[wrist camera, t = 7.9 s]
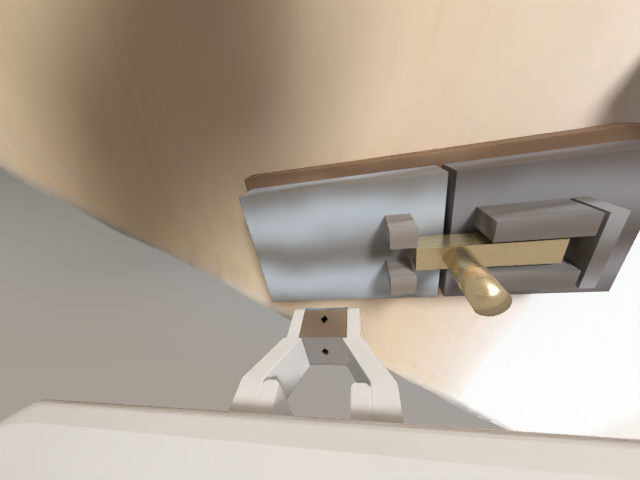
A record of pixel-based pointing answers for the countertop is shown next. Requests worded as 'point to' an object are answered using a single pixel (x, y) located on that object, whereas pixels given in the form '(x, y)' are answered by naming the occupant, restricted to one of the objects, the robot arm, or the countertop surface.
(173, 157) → the countertop surface
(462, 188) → the sliding barrel latch
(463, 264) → the bolt
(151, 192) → the countertop surface
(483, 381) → the countertop surface
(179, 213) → the countertop surface
